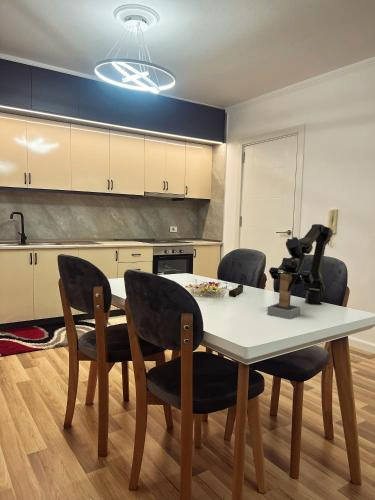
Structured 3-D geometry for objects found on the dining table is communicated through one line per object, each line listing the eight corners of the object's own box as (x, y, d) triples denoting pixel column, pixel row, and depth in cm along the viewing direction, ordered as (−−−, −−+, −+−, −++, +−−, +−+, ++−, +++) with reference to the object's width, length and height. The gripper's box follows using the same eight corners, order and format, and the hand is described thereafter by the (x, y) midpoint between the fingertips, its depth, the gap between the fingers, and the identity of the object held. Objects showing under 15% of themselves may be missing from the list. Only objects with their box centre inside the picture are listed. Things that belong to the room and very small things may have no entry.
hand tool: (235, 297, 196) (235, 289, 196) (228, 296, 198) (228, 288, 198) (247, 292, 213) (247, 284, 213) (240, 291, 215) (240, 283, 215)
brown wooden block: (282, 304, 166) (284, 273, 164) (290, 306, 163) (291, 274, 162) (278, 306, 163) (280, 274, 162) (286, 307, 161) (288, 275, 159)
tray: (278, 310, 171) (278, 302, 170) (300, 314, 164) (300, 306, 164) (267, 314, 163) (267, 306, 162) (290, 319, 156) (290, 310, 156)
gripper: (271, 249, 170) (258, 276, 163) (312, 252, 158) (300, 281, 151) (278, 265, 177) (266, 291, 169) (318, 269, 165) (306, 298, 157)
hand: (283, 290), depth 161 cm, fingers closed on brown wooden block, 4 cm apart
